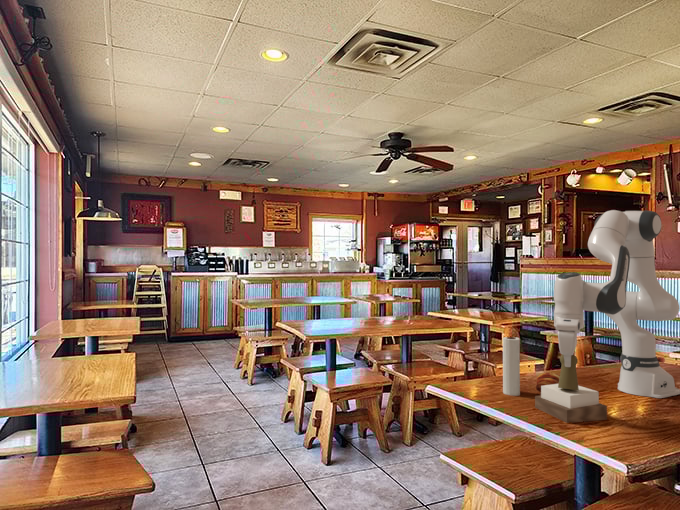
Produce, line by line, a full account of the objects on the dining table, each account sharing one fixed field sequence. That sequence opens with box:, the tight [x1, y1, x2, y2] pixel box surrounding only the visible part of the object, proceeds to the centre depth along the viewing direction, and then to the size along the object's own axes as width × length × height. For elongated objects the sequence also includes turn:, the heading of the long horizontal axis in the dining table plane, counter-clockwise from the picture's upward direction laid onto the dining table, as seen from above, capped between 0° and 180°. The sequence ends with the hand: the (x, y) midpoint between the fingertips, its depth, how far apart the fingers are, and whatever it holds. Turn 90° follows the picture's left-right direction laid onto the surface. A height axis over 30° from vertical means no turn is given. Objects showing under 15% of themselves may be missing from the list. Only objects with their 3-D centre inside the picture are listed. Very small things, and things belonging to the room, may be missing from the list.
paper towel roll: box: [502, 336, 521, 397], centre depth 174 cm, size 7×6×21 cm
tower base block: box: [534, 395, 608, 424], centre depth 152 cm, size 15×15×5 cm
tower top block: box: [540, 384, 600, 409], centre depth 152 cm, size 12×12×4 cm
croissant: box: [535, 372, 560, 393], centre depth 178 cm, size 21×10×8 cm
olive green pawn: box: [558, 354, 579, 390], centre depth 151 cm, size 6×6×11 cm
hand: (568, 363), depth 152 cm, fingers open, 8 cm apart
